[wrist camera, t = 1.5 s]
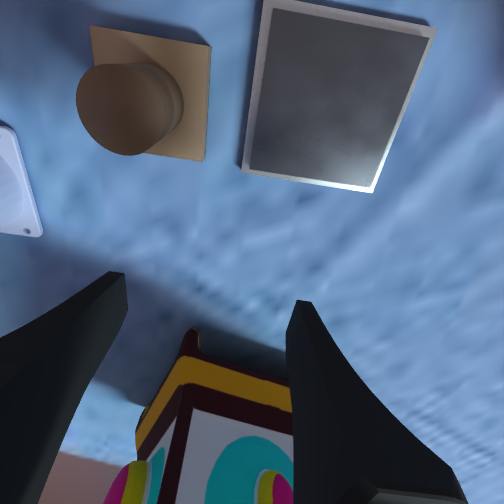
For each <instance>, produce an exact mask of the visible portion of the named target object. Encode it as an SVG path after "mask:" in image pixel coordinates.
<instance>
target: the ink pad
mask: <svg viewBox="0 0 504 504" xmlns="http://www.w3.org/2000/svg"><path fill="white" fill-rule="evenodd" d="M437 30H438V28H434V27H429V26H424V25H419V24H414V23H409V22H403V21H398V20H393V19H388V18H383V17H378V16H373V15H368V14H362V13H357V12H352V11H347V10H342V9H337V8H332V7H327V6H321V5H316V4H311V3H306V2H301V1H296V0H264V1H263V9H262V16H261V24H260V32H259V39H258V47H257V54H256V62H255V70H254V77H253V85H252V93H251V100H250V108H249V115H248V123H247V131H246V138H245V146H244V154H243V161H242V169H241V173H246V174H253V175H259V176H266V177H272V178H278V179H285V180H291V181H298V182H304V183H311V184H317V185H324V186H330V187H337V188H343V189H350V190H356V191H362V192H369V193H372V192H373V189H374V187H375V184H376V182H377V179H378V177H379V174H380V172H381V169H382V167H383V164H384V162H385V159H386V157H387V154H388V152H389V149H390V147H391V144H392V142H393V139H394V137H395V134H396V132H397V129H398V127H399V124H400V122H401V119H402V117H403V114H404V112H405V110H406V107H407V105H408V102H409V100H410V97H411V95H412V92H413V90H414V87H415V85H416V82H417V80H418V77H419V75H420V72H421V70H422V67H423V65H424V62H425V60H426V57H427V55H428V52H429V50H430V47H431V45H432V42H433V40H434V37H435V35H436V32H437Z"/></svg>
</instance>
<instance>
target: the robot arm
mask: <svg viewBox="0 0 504 504" xmlns="http://www.w3.org/2000/svg"><path fill="white" fill-rule="evenodd" d="M28 229H29V230H30V231H29V230H28ZM0 233H7V234H15V235H22V236H30V237H40V236H41V235H42V234H43V228H42V224H41V221H40V217H39V214H38V210H37V207H36V203H35V200H34V196H33V193H32V189H31V186H30V182H29V179H28V175H27V172H26V168H25V164H24V161H23V157H22V154H21V150H20V147H19V143H18V140H17V136H16V134H15V132H14V131H13V130H12V129H10V128H9V127H5V126H0ZM127 311H128V304H127V294H126V284H125V274H124V273H119V272H112V271H109V272H107V273H106V274H104V275H103V276H101V277H100V278H98V279H97V280H95V281H94V282H93V283H91V284H90V285H88V286H87V287H85V288H84V289H82V290H81V291H79V292H78V293H76V294H75V295H73V296H72V297H70V298H69V299H67V300H66V301H64V302H63V303H61V304H60V305H58V306H56V307H55V308H53V309H52V310H50V311H48V312H47V313H45V314H43V315H42V316H40V317H38V318H37V319H35V320H33V321H31V322H30V323H28V324H26V325H24V326H22V327H20V328H19V329H17V330H15V331H13V332H11V333H9V334H7V335H5V336H3V337H1V338H0V504H38V501H39V499H40V496H41V493H42V491H43V488H44V486H45V483H46V481H47V478H48V475H49V473H50V470H51V468H52V465H53V463H54V461H55V458H56V456H57V453H58V451H59V448H60V446H61V443H62V441H63V439H64V436H65V434H66V432H67V430H68V427H69V425H70V423H71V420H72V418H73V416H74V414H75V411H76V409H77V407H78V405H79V403H80V401H81V398H82V396H83V394H84V392H85V390H86V388H87V386H88V384H89V382H90V381H91V379H92V377H93V375H94V374H95V372H96V370H97V369H98V367H99V365H100V363H101V362H102V360H103V358H104V356H105V355H106V353H107V351H108V350H109V348H110V346H111V344H112V343H113V341H114V339H115V337H116V336H117V334H118V332H119V330H120V328H121V325H122V323H123V321H124V318H125V316H126V313H127ZM286 362H287V371H288V380H289V388H290V397H291V405H292V417H293V504H468V502H467V499H466V497H465V495H464V493H463V490H462V488H461V486H460V484H459V482H458V480H457V478H456V476H455V474H454V472H453V470H452V468H451V467H450V466H449V465H448V464H446V463H445V462H444V461H443V460H442V459H441V458H439V457H438V456H437V455H436V454H435V453H434V452H432V451H431V450H430V449H429V448H428V447H427V446H425V445H424V444H423V443H422V442H421V441H420V440H419V439H418V438H416V437H415V436H414V435H413V434H412V433H411V432H410V431H409V430H408V429H407V428H406V427H405V426H404V425H403V424H402V423H401V422H400V421H399V420H398V419H397V418H396V417H395V416H394V415H393V414H392V413H391V412H390V411H389V410H388V409H387V408H386V407H385V406H384V405H383V404H382V402H381V401H380V400H379V399H378V398H377V397H376V396H375V395H374V394H373V393H372V391H371V390H370V389H369V388H368V387H367V386H366V384H365V383H364V382H363V381H362V379H361V378H360V377H359V376H358V374H357V373H356V372H355V371H354V369H353V368H352V367H351V365H350V364H349V362H348V361H347V360H346V358H345V357H344V355H343V354H342V352H341V351H340V349H339V348H338V346H337V345H336V343H335V342H334V340H333V338H332V337H331V335H330V334H329V332H328V330H327V329H326V327H325V325H324V323H323V322H322V320H321V318H320V316H319V315H318V313H317V311H316V309H315V307H314V306H313V304H312V302H309V301H302V300H297V301H296V304H295V307H294V310H293V313H292V316H291V319H290V322H289V325H288V328H287V330H286Z"/></svg>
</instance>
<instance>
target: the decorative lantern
mask: <svg viewBox="0 0 504 504" xmlns="http://www.w3.org/2000/svg"><path fill="white" fill-rule="evenodd" d="M135 443H136V450H137V461H132V462H131V463H129V464H128V465H126V466H125V467H124V468H123V469H122V470H121V471H120V473H119V474H118V475H117V477H116V479H115V480H114V482H113V483H112V486H111V488H110V490H109V492H108V494H107V496H106V498H105V501H104V503H103V504H293V417H292V405H291V397H290V388H289V382H288V381H285V380H282V379H279V378H276V377H273V376H270V375H267V374H264V373H261V372H257V371H254V370H251V369H248V368H245V367H242V366H239V365H236V364H233V363H230V362H227V361H224V360H220V359H217V358H214V357H211V356H208V355H206V354H205V353H203V352H201V350H200V349H199V333H198V330H197V329H193V328H192V329H190V330H188V331H187V333H186V334H185V336H184V339H183V341H182V344H181V347H180V350H179V353H178V355H177V357H176V359H175V361H174V363H173V365H172V366H171V368H170V370H169V372H168V374H167V375H166V377H165V379H164V381H163V382H162V384H161V386H160V388H159V390H158V391H157V393H156V395H155V397H154V398H153V400H152V402H151V404H150V405H149V406H147V407H145V409H144V410H143V412H142V414H141V416H140V419H139V421H138V424H137V427H136V430H135Z"/></svg>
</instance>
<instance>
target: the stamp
mask: <svg viewBox="0 0 504 504" xmlns="http://www.w3.org/2000/svg"><path fill="white" fill-rule="evenodd" d="M89 29H90V36H91V44H92V52H93V60H94V67H92V68H91V69H89V70H88V71H87V72H86V73H85V74H84V75H83V76H82V78H81V79H80V82H79V84H78V87H77V92H76V105H77V110H78V114H79V117H80V119H81V121H82V124H83V125H84V127H85V129H86V130H87V132H88V133H89V134H90V135H91V137H92V138H93V139H94V140H95V141H96V142H97V143H99V144H100V145H101V146H103V147H104V148H106V149H107V150H109V151H112V152H114V153H117V154H121V155H128V156H129V155H138V154H141V153H148V154H154V155H161V156H167V157H174V158H181V159H187V160H194V161H200V162H202V161H203V160H204V158H205V153H206V136H207V118H208V101H209V83H210V66H211V48H212V47H210V46H205V45H200V44H194V43H188V42H183V41H177V40H172V39H166V38H160V37H155V36H149V35H143V34H138V33H132V32H127V31H121V30H115V29H110V28H104V27H98V26H93V25H89Z"/></svg>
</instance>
